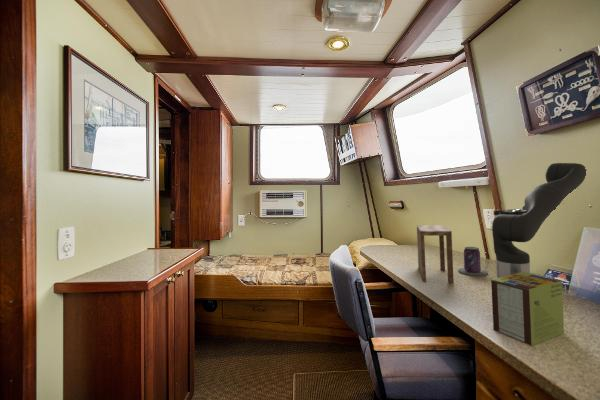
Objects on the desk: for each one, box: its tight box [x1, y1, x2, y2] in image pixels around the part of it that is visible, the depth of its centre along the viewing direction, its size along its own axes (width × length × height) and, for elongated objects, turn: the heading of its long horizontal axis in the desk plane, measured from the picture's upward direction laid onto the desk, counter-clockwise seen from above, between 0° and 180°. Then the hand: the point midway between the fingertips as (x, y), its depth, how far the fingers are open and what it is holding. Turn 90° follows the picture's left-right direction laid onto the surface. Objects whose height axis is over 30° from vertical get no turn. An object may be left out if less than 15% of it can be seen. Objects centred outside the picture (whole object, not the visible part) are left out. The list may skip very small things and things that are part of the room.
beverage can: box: [463, 246, 482, 272], centre depth 141 cm, size 7×7×12 cm
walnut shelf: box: [416, 224, 455, 285], centre depth 140 cm, size 13×25×24 cm, turn 161°
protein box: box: [490, 272, 565, 347], centre depth 81 cm, size 10×15×16 cm
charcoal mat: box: [457, 267, 489, 277], centre depth 141 cm, size 13×13×1 cm
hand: (496, 213), depth 137 cm, fingers open, 8 cm apart
